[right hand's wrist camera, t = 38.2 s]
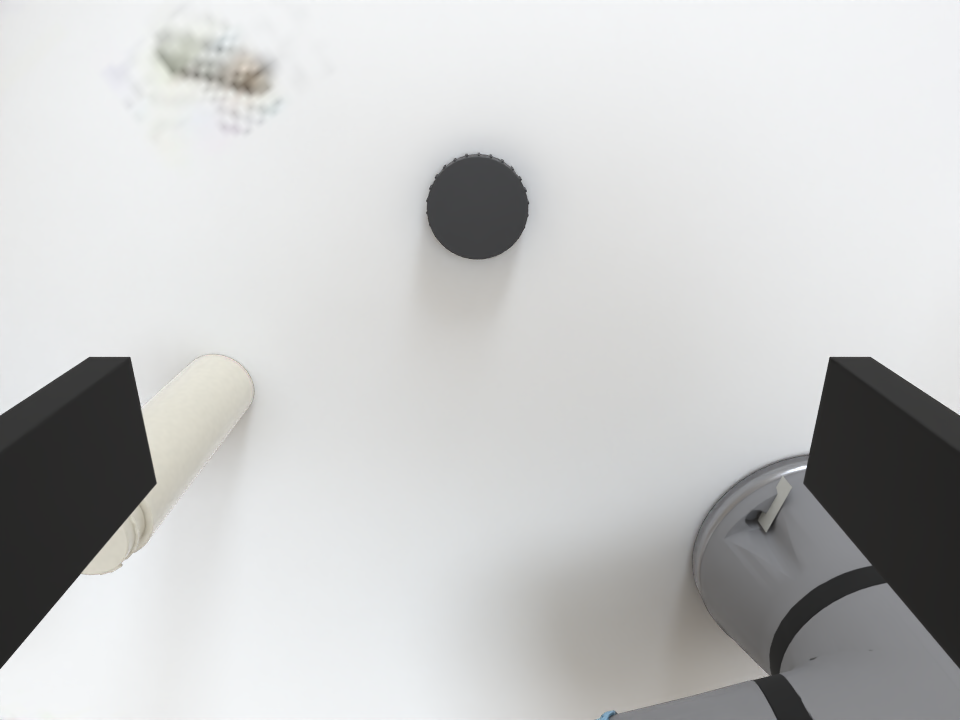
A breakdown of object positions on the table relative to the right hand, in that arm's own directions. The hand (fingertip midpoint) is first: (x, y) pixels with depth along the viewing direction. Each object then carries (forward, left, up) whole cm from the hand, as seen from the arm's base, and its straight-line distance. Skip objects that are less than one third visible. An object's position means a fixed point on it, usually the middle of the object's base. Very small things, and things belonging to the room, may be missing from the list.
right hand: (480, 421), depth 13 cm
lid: (0, 0, -25) cm, 25 cm away
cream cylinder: (-10, +17, -26) cm, 33 cm away
